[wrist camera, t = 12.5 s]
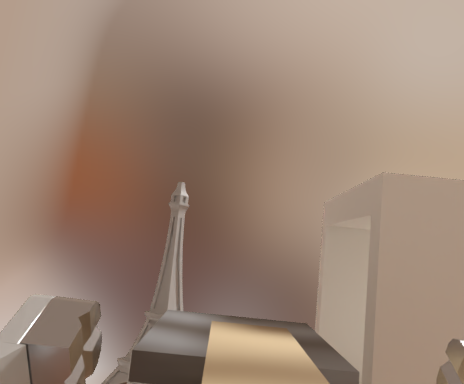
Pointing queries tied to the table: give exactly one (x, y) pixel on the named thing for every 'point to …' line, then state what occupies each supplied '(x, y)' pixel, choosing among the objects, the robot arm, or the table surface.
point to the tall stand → (393, 276)
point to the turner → (235, 352)
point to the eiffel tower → (162, 280)
